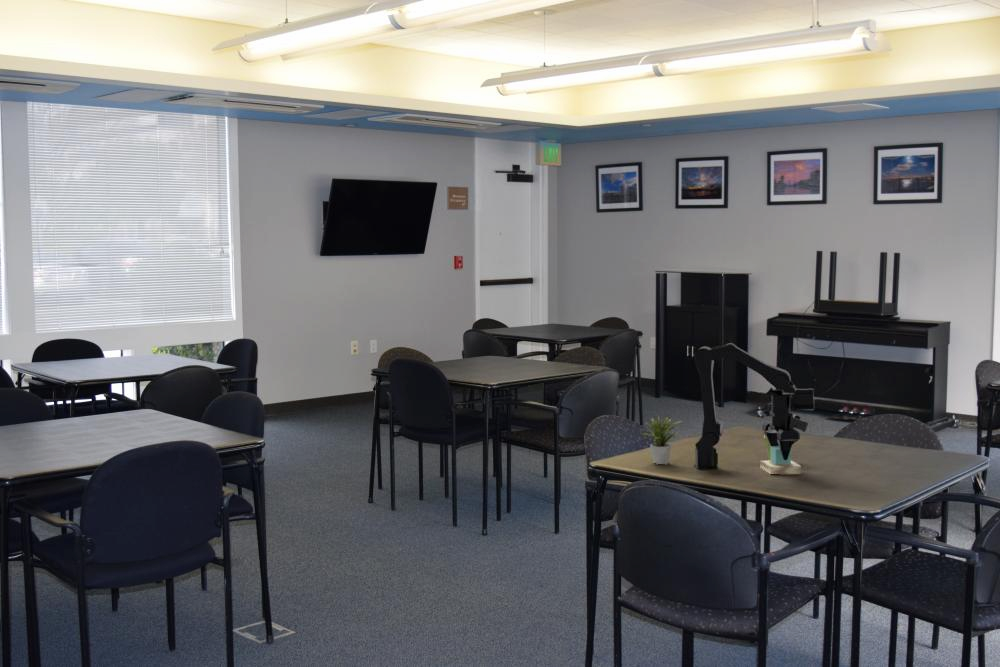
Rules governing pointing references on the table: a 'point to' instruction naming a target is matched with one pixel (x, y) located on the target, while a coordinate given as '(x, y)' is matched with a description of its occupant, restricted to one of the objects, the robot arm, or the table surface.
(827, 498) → the table surface
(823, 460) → the table surface
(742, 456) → the table surface
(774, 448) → the teal cube
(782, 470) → the cream square tray
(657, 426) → the house plant
